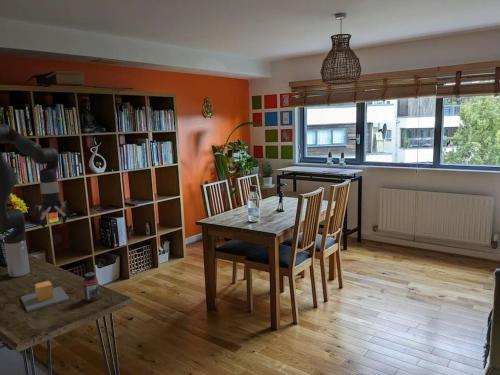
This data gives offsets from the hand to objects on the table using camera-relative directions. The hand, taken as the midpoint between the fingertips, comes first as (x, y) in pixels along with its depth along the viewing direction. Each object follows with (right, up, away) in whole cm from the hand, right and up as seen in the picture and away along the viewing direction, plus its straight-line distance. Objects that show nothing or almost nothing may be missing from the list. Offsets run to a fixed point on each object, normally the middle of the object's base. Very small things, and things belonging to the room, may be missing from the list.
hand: (53, 225), depth 183 cm
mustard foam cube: (+3, -30, -14) cm, 33 cm away
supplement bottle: (+24, -30, -15) cm, 41 cm away
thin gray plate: (+3, -31, -14) cm, 34 cm away
